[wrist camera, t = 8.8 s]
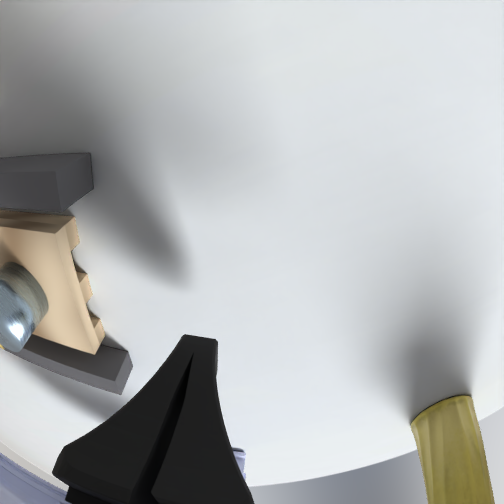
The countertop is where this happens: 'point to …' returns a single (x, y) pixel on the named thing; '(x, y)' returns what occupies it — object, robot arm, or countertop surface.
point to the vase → (452, 453)
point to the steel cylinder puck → (19, 305)
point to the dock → (57, 200)
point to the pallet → (53, 275)
